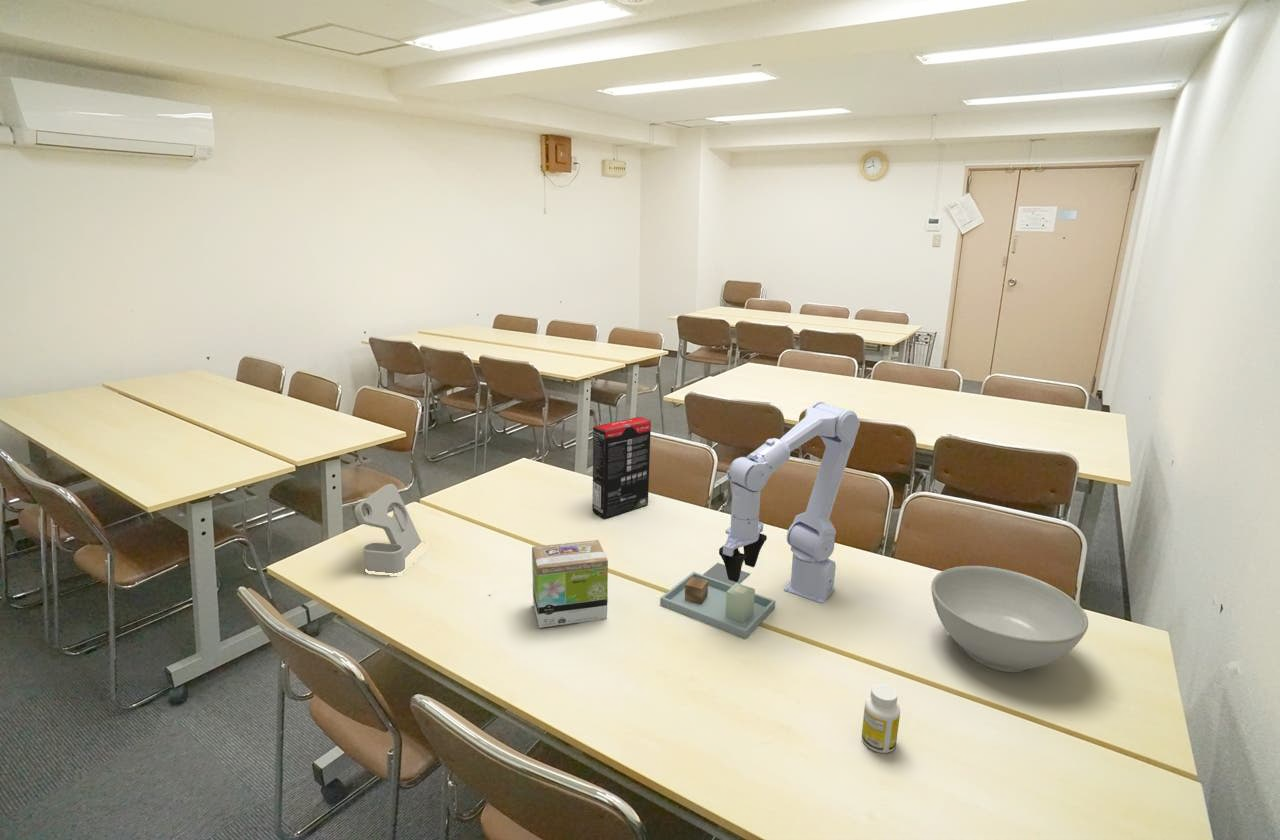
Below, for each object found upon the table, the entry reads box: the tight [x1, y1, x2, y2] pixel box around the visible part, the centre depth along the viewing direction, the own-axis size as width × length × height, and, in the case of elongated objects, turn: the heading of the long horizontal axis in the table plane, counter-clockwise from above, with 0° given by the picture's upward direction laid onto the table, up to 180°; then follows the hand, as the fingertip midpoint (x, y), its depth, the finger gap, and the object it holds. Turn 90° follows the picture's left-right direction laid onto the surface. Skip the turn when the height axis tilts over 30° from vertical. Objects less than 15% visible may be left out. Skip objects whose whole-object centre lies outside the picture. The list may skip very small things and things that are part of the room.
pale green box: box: [725, 583, 756, 623], centre depth 141 cm, size 4×4×6 cm
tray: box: [659, 571, 776, 640], centre depth 145 cm, size 21×14×2 cm
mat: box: [702, 562, 751, 585], centre depth 158 cm, size 9×9×1 cm
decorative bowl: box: [930, 565, 1089, 673], centre depth 129 cm, size 27×27×12 cm
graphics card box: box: [592, 416, 652, 519], centre depth 192 cm, size 17×7×27 cm, turn 130°
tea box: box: [531, 539, 609, 629], centre depth 141 cm, size 15×10×15 cm, turn 105°
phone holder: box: [354, 483, 422, 574], centre depth 163 cm, size 17×10×18 cm, turn 171°
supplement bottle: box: [861, 683, 901, 754], centre depth 106 cm, size 5×5×10 cm
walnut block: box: [685, 577, 708, 605], centre depth 148 cm, size 4×4×4 cm
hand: (741, 572), depth 139 cm, fingers open, 7 cm apart
